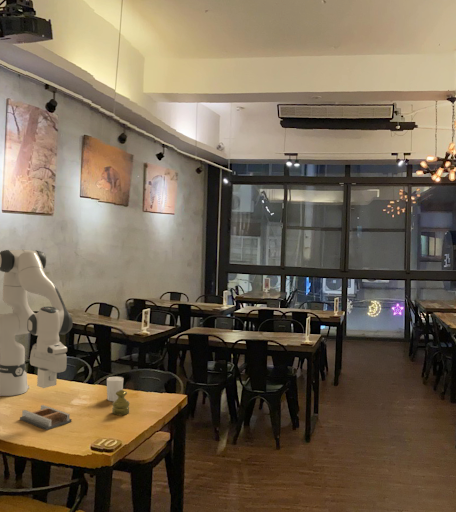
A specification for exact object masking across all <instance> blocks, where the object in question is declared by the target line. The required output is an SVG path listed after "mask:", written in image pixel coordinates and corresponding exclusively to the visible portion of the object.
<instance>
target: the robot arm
mask: <svg viewBox="0 0 456 512" xmlns="http://www.w3.org/2000/svg"><path fill="white" fill-rule="evenodd" d="M46 266H47V257H46V255H45V253H44V252H43V251H40V250H31V249H12V250H9V249H5V250H1V251H0V272H2V273H4V276H3V282H2V283H3V284H2V301H3V303H5V305H7V306H10V307H11V308H12V312H11V313H10V312H9V313H0V396H1V397H2V396H5V397H8V396H9V397H10V396H18V395H22V394H24V393H26V392H28V389H30V385H28V375H27V371H26V367H27V365H26V362H25V359H26V356H25V355H26V353H25V352H26V348H25V346H24V345H23V344H22V343H21V342H18V341H16V336H21V335H27V334H29V333H30V334H31V335H33V336H37V339H36V343H34V344H33V345H32V348H31V350H30V355H29V356H30V357H29V364H30V366H33V367H36V368H37V370H38V369H41V368H43V369H47V370H50V373H51V375H50V376H49V381H54V377H55V375H56V373H57V374H58V373H63V372H65V371H66V370H67V363H68V361H67V359H68V357H67V354H66V353H67V352H68V347H67V346H65V345H64V344H63V343H62V342H61V341H60V340H61V339H60V335H67V334H68V333H69V332H70V331H71V329H72V328H73V318H72V315H71V314H70V312H69V311H68V310H67V307H66V305H65V303H64V301H63V298H62V296H61V293H60V292H59V289H58V287H57V285H56V284H55V282H54V281H51V280H50V278H49V277H48V276H47V275H46V273H45V269H46ZM28 293H30V294H31V293H32V294H35V295H39V296H42V297H44V298H46V299H48V300H49V301H50V304H51V306H43V307H40V308H39V310H38V312H34V311H33V310H32V308H31V307H30V304H29V300H28Z"/></svg>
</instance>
